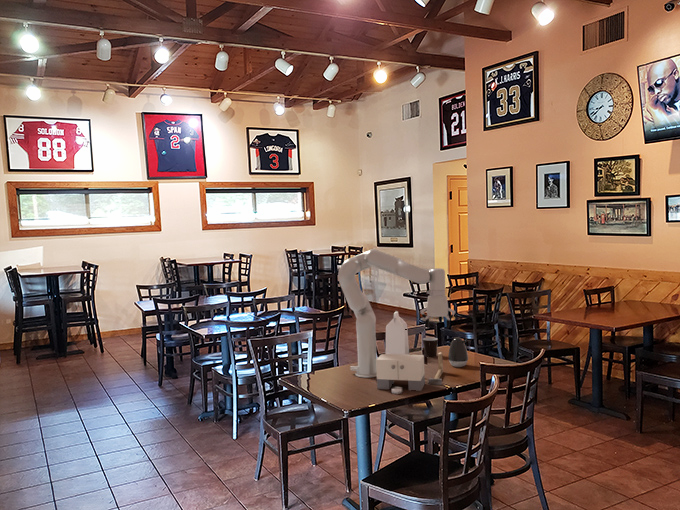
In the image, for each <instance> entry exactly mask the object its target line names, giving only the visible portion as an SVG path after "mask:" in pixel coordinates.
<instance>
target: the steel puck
mask: <svg viewBox="0 0 680 510" xmlns="http://www.w3.org/2000/svg"><path fill="white" fill-rule="evenodd" d="M390 389H391V394H393V395H401V394H403V393H402V392H403V387H402V386H393V387H390Z"/></svg>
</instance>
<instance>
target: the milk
mask: <svg viewBox="0 0 680 510" xmlns="http://www.w3.org/2000/svg"><path fill="white" fill-rule="evenodd" d="M405 329H407V330H405ZM408 333H409V331H408V324H407V322H406V321H405V320H404V319H403V318H402V317H400V315H399V311H395V312H394V313H393V318H392V319H391V320H390V321H389V322H388V323H387V324H386V326H385V352H384V354H403V355H410V348H409V347H410V346H409V334H408Z"/></svg>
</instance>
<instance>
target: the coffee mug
mask: <svg viewBox="0 0 680 510" xmlns="http://www.w3.org/2000/svg"><path fill="white" fill-rule="evenodd" d="M438 342H439V339H438V338H437V337H424V338H422V343H423V351H424V358H425V357H426V358H429V359H430V358H436V357H438V353H437V352H438Z"/></svg>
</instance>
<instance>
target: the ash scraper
mask: <svg viewBox="0 0 680 510" xmlns="http://www.w3.org/2000/svg"><path fill="white" fill-rule="evenodd" d="M437 360H438V361H437V362H438V368H437V369H438V370H437V372H436V374H435V376H434V377H433V378H432V377H431V378H428V385H437V386H441V385H443V379H442V378H440V377H441V376H442V374H443V373H444V368H443V365H444V364H443V352H442V351H441V352H438V353H437Z"/></svg>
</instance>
